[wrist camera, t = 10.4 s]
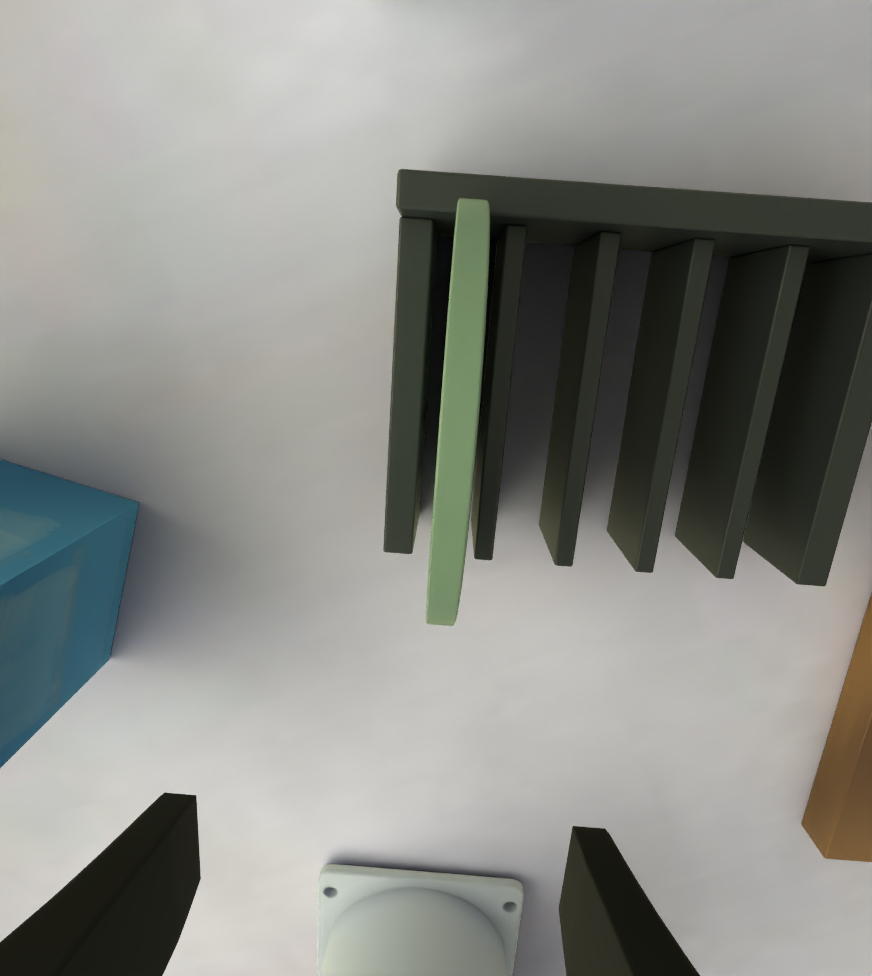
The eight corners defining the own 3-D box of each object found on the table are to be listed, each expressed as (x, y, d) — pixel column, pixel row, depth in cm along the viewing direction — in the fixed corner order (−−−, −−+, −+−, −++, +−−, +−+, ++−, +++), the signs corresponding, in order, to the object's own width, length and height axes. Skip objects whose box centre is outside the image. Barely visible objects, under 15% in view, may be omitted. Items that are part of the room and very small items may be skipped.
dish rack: (762, 559, 19) (1025, 767, 10) (393, 530, 19) (342, 713, 11) (842, 234, 17) (1292, 141, 8) (411, 203, 17) (362, 75, 8)
